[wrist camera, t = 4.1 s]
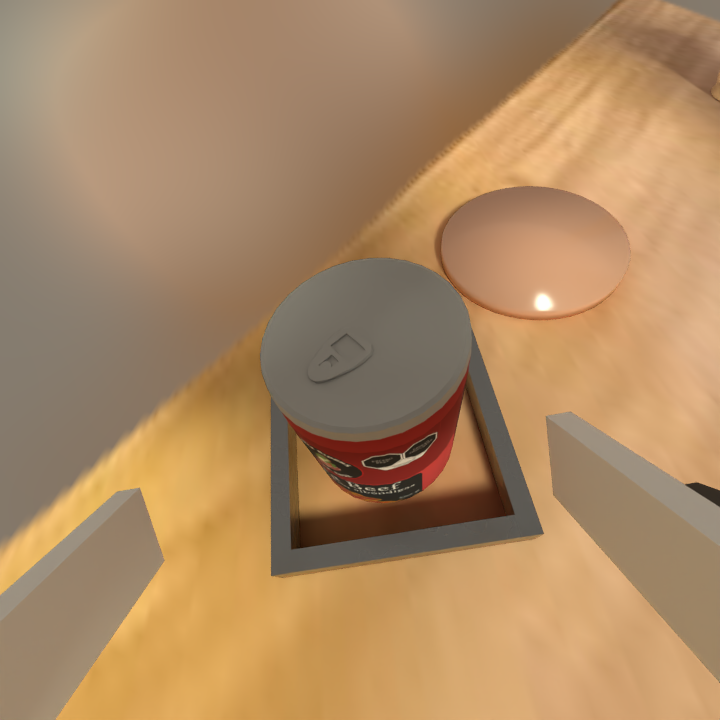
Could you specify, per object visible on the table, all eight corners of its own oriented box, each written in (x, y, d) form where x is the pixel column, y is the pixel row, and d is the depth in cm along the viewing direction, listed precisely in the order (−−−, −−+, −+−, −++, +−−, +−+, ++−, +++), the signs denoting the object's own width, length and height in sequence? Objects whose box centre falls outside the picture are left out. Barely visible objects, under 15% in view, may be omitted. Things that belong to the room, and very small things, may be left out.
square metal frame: (279, 366, 27) (270, 352, 26) (464, 332, 27) (467, 316, 25) (282, 577, 20) (271, 575, 19) (534, 539, 20) (544, 533, 18)
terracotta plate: (509, 178, 34) (512, 167, 34) (660, 243, 28) (668, 232, 27) (406, 259, 31) (406, 249, 30) (553, 353, 25) (558, 344, 24)
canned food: (297, 463, 23) (215, 373, 14) (367, 362, 26) (338, 233, 17) (410, 537, 20) (400, 483, 11) (474, 414, 23) (509, 291, 14)
